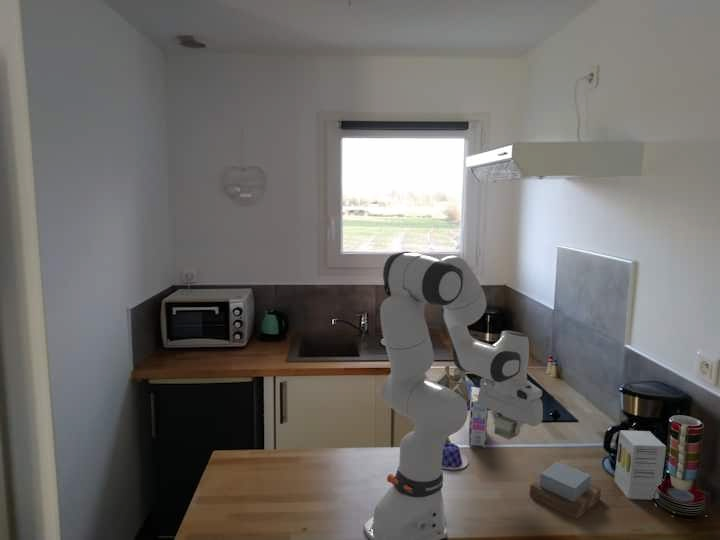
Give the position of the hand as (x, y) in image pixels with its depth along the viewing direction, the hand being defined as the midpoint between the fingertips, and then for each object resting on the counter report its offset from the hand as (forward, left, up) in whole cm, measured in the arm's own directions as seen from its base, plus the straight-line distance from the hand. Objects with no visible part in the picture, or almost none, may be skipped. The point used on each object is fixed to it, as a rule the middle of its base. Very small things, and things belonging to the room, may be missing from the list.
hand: (506, 429), depth 154 cm
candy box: (+16, +22, -17) cm, 32 cm away
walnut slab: (+7, -16, -18) cm, 25 cm away
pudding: (-4, +18, -17) cm, 25 cm away
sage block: (0, 0, -2) cm, 2 cm away
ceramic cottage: (+37, +51, -17) cm, 65 cm away
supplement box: (+26, -28, -17) cm, 42 cm away
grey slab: (+6, -16, -14) cm, 22 cm away
